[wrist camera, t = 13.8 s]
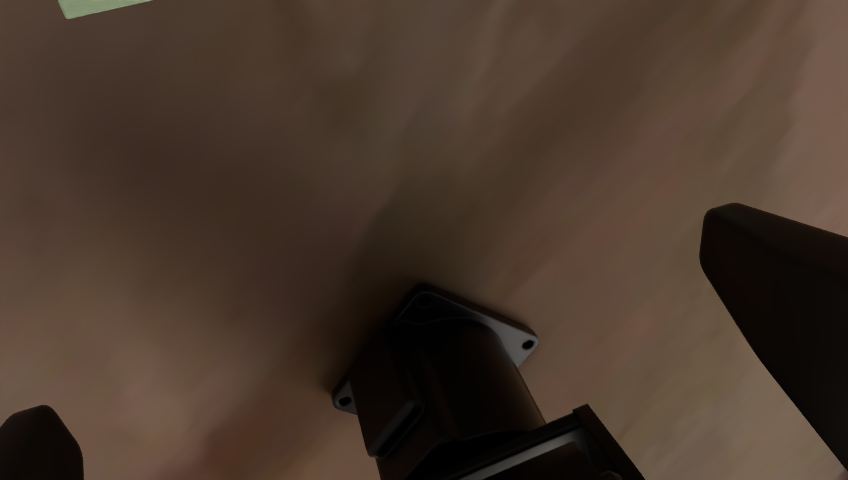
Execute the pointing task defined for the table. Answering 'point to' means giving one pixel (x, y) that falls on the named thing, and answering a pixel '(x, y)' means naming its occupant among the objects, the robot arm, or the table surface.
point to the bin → (92, 6)
